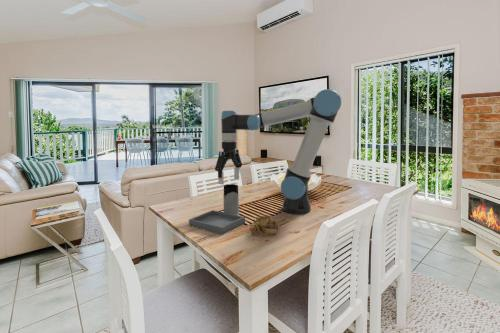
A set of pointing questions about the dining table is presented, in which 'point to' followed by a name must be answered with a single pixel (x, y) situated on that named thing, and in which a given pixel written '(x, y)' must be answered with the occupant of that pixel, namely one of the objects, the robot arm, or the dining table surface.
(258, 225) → the crab model
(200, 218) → the grey square tray
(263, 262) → the dining table surface
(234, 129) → the robot arm
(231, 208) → the glass holder
